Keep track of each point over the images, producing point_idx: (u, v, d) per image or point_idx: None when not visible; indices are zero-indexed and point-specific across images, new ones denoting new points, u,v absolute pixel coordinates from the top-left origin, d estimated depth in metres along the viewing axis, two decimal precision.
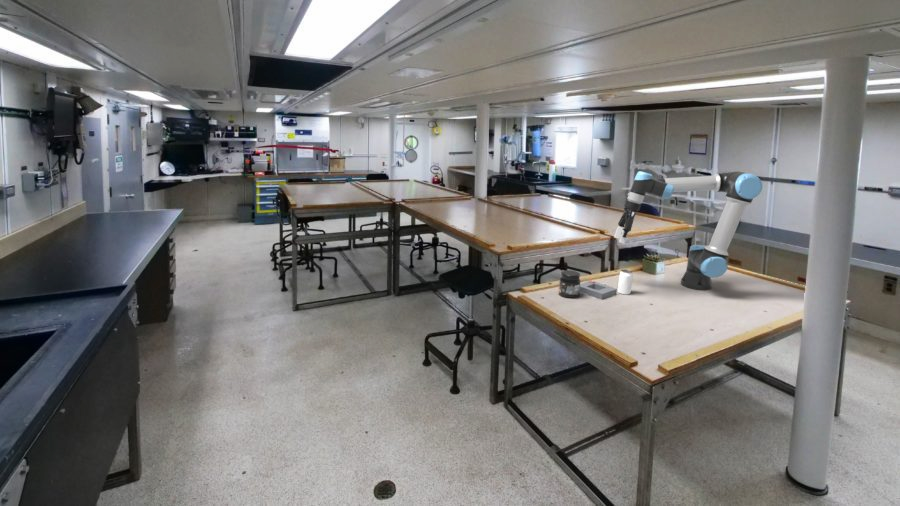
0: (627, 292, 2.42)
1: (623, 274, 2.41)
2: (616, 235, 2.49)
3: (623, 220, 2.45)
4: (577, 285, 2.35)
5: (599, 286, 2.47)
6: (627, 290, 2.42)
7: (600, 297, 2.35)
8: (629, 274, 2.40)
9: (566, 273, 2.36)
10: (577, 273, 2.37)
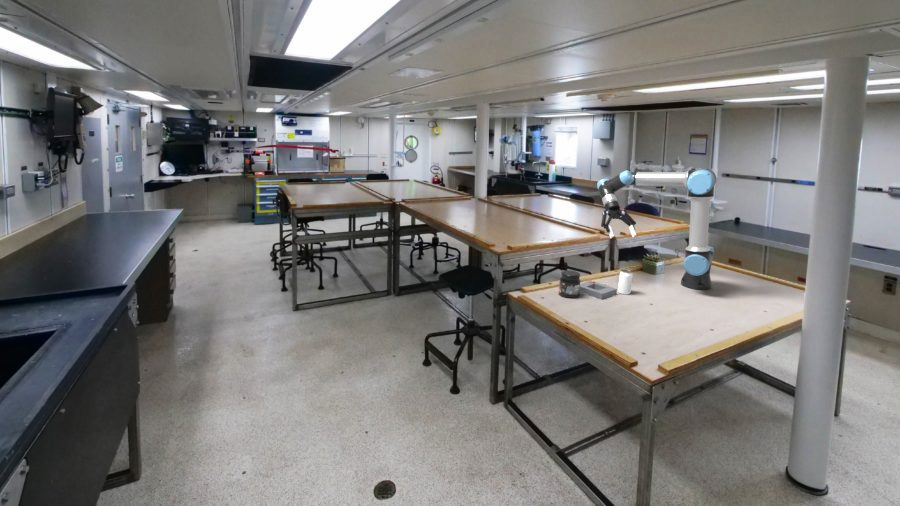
0: (627, 292, 2.42)
1: (623, 274, 2.41)
2: (632, 234, 2.51)
3: (623, 220, 2.54)
4: (577, 285, 2.35)
5: (599, 286, 2.47)
6: (627, 290, 2.42)
7: (600, 297, 2.35)
8: (629, 274, 2.40)
9: (566, 273, 2.36)
10: (577, 273, 2.37)
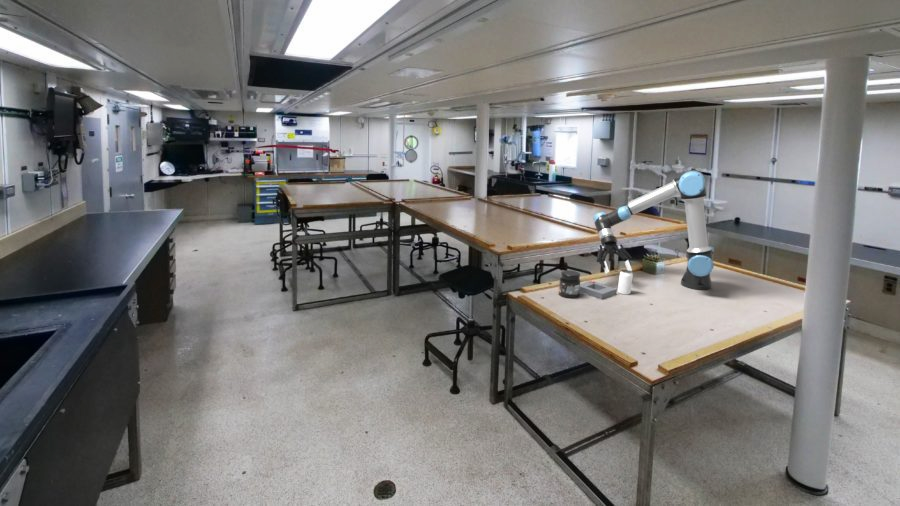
0: (627, 292, 2.42)
1: (623, 274, 2.41)
2: None
3: (619, 255, 2.54)
4: (577, 285, 2.35)
5: (599, 286, 2.47)
6: (627, 290, 2.42)
7: (600, 297, 2.35)
8: (629, 274, 2.40)
9: (566, 273, 2.36)
10: (577, 273, 2.37)
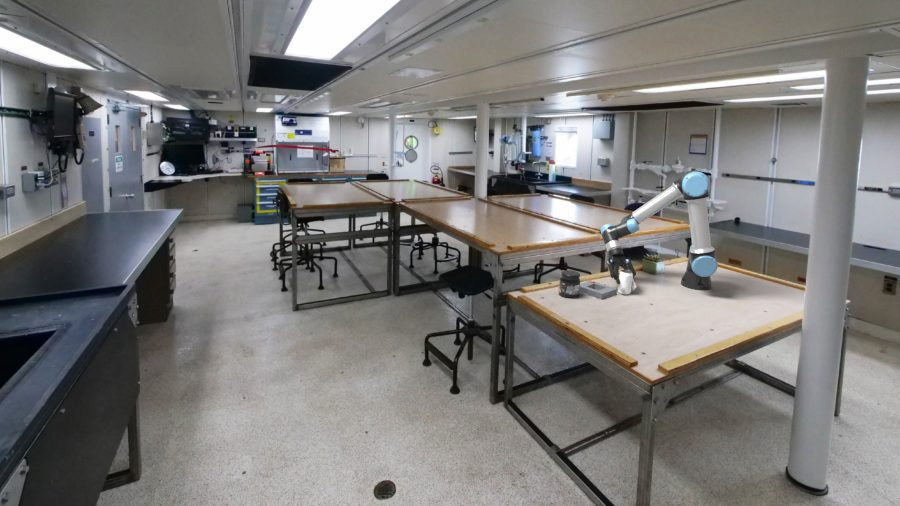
0: (627, 292, 2.42)
1: (623, 274, 2.41)
2: (632, 286, 2.43)
3: (625, 269, 2.47)
4: (577, 285, 2.35)
5: (599, 286, 2.47)
6: (627, 290, 2.42)
7: (600, 297, 2.35)
8: (629, 274, 2.40)
9: (566, 273, 2.36)
10: (577, 273, 2.37)
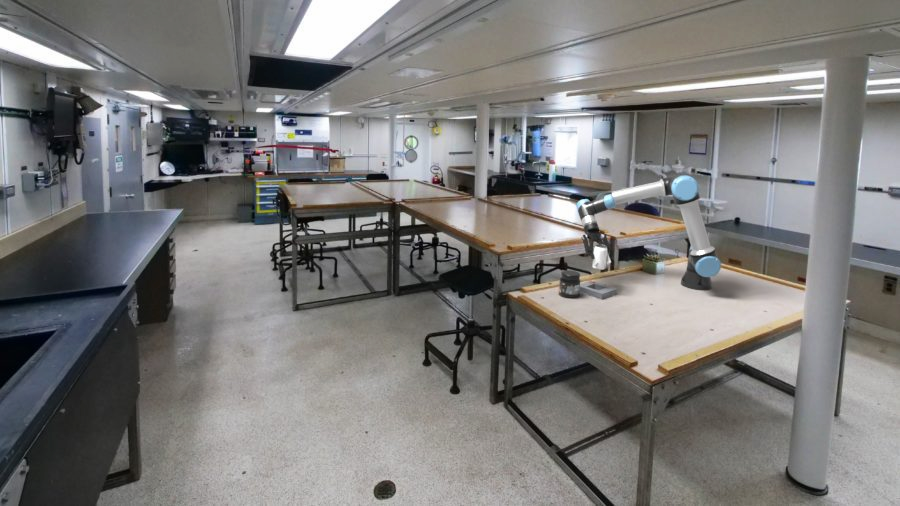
0: (601, 267, 2.38)
1: (597, 249, 2.37)
2: (607, 261, 2.39)
3: None
4: (577, 285, 2.35)
5: (599, 286, 2.47)
6: (601, 265, 2.38)
7: (600, 297, 2.35)
8: (603, 249, 2.36)
9: (566, 273, 2.36)
10: (577, 273, 2.37)
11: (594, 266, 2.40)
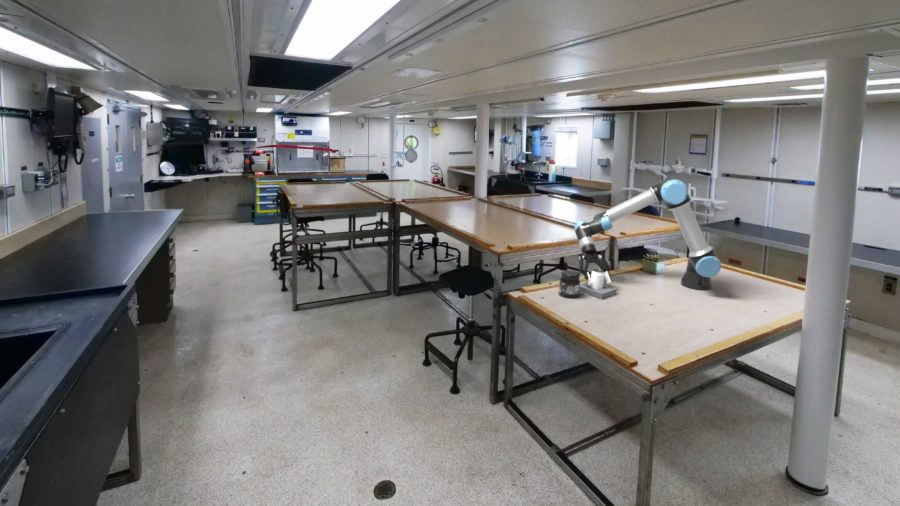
0: None
1: (595, 273, 2.40)
2: (607, 281, 2.43)
3: (599, 265, 2.47)
4: (577, 285, 2.35)
5: None
6: (599, 289, 2.41)
7: (600, 297, 2.35)
8: (600, 273, 2.40)
9: (566, 273, 2.36)
10: (577, 273, 2.37)
11: None
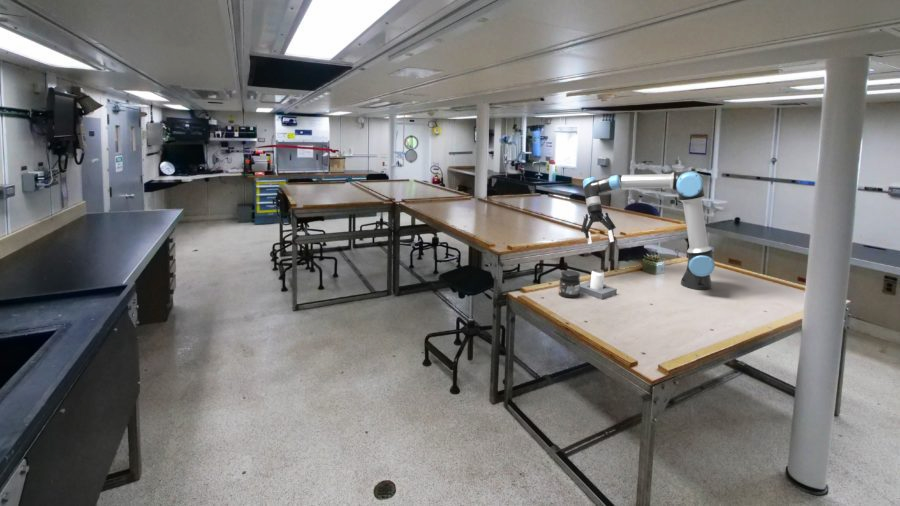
0: None
1: (595, 274, 2.40)
2: (610, 239, 2.56)
3: (604, 224, 2.57)
4: (577, 285, 2.35)
5: None
6: None
7: (600, 297, 2.35)
8: (600, 273, 2.39)
9: (566, 273, 2.36)
10: (577, 273, 2.37)
11: None
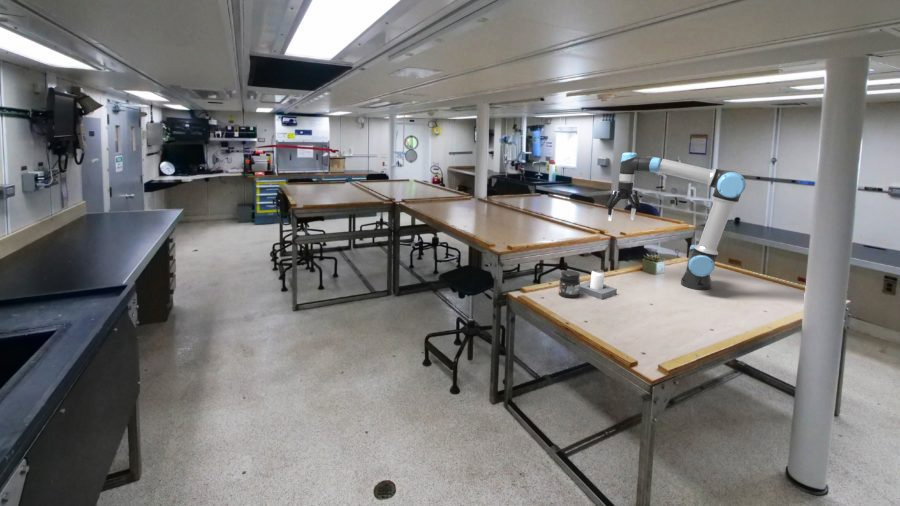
0: None
1: (595, 274, 2.40)
2: (631, 217, 2.57)
3: (630, 201, 2.54)
4: (577, 285, 2.35)
5: None
6: None
7: (600, 297, 2.35)
8: (600, 274, 2.39)
9: (566, 273, 2.36)
10: (577, 273, 2.37)
11: None
